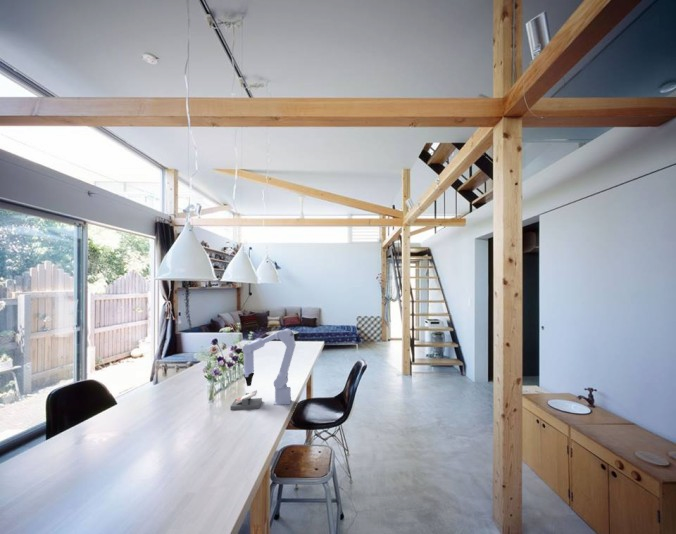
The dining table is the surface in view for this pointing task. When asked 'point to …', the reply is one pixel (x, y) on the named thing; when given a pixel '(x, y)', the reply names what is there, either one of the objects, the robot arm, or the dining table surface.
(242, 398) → the block
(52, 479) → the dining table surface
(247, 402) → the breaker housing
